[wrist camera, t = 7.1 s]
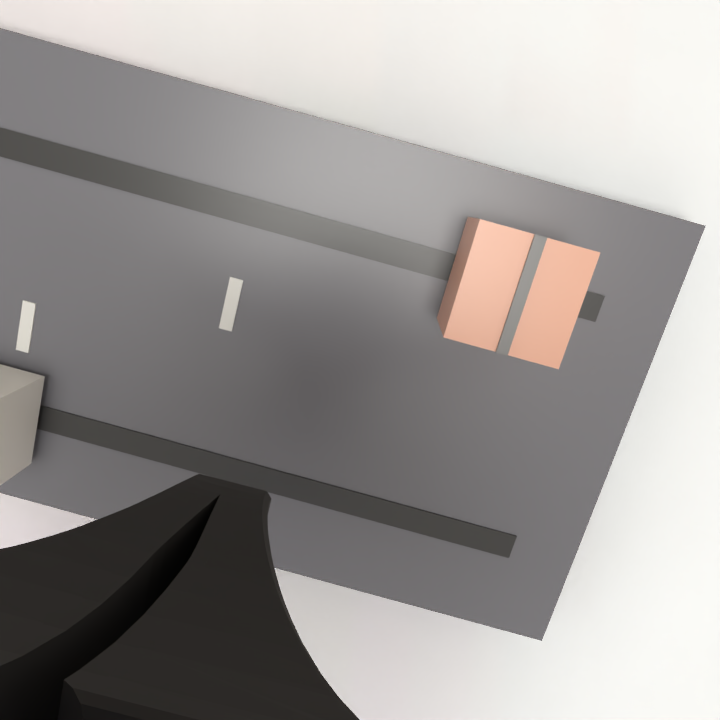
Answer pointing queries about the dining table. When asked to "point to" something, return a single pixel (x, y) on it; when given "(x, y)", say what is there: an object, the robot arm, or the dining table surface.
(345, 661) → the dining table surface
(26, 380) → the fader white
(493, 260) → the fader terracotta
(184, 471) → the console
